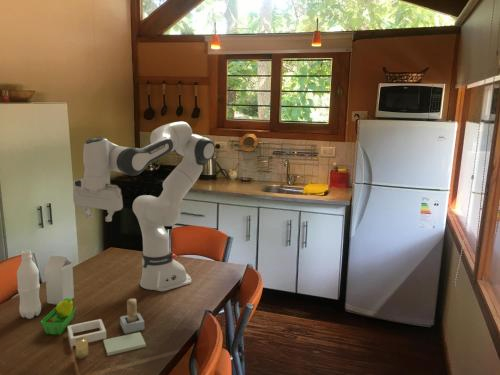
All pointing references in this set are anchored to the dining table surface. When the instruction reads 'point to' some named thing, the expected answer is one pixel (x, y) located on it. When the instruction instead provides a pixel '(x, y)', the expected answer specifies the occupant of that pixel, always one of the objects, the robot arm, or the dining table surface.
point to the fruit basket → (59, 317)
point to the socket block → (132, 324)
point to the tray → (84, 327)
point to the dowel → (131, 310)
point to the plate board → (124, 343)
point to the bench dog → (81, 347)
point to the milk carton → (59, 279)
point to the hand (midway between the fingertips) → (98, 219)
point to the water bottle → (28, 286)
